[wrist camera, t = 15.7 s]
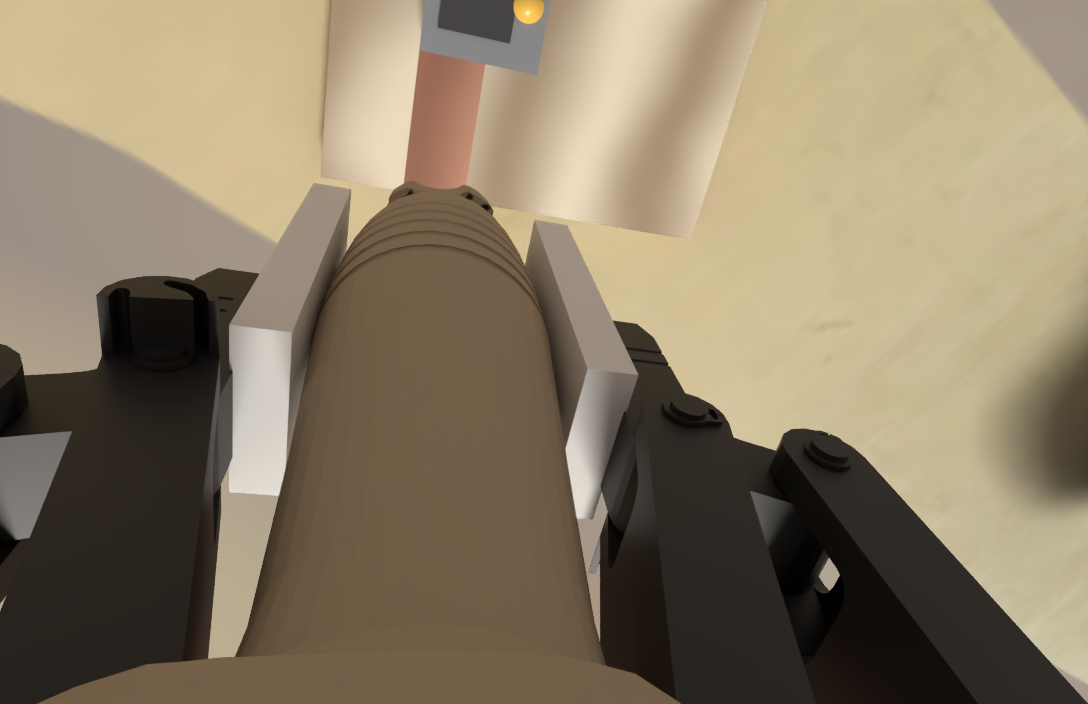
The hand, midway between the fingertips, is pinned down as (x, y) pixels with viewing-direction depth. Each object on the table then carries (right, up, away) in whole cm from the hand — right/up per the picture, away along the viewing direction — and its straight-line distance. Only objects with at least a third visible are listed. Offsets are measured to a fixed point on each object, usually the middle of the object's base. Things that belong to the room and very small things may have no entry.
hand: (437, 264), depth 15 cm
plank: (+2, +9, +13) cm, 16 cm away
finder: (0, +11, +9) cm, 15 cm away
